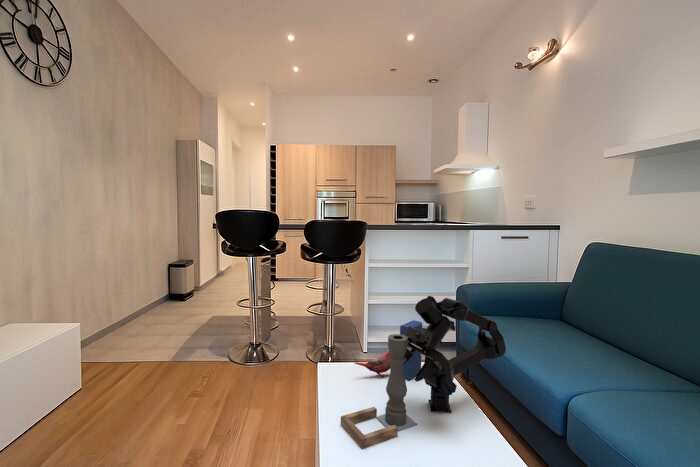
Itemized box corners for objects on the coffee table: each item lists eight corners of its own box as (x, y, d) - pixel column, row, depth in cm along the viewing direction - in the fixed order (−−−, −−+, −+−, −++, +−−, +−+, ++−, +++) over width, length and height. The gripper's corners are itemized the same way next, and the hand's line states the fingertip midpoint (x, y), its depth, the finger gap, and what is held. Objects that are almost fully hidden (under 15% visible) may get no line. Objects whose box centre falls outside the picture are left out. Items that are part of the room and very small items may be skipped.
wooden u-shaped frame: (373, 414, 109) (374, 406, 109) (397, 436, 99) (397, 427, 98) (340, 424, 103) (340, 416, 103) (361, 448, 93) (362, 439, 93)
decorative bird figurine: (400, 376, 135) (400, 350, 134) (354, 380, 131) (355, 354, 130) (397, 373, 138) (397, 348, 137) (352, 377, 134) (353, 351, 133)
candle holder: (405, 415, 108) (407, 334, 107) (406, 427, 102) (409, 341, 101) (385, 413, 109) (387, 333, 108) (385, 425, 103) (387, 340, 101)
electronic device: (410, 369, 142) (411, 319, 141) (421, 372, 139) (423, 322, 138) (397, 377, 135) (398, 324, 134) (409, 381, 131) (411, 327, 130)
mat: (399, 410, 112) (399, 409, 112) (417, 424, 104) (417, 423, 104) (375, 418, 107) (375, 417, 107) (392, 433, 100) (392, 432, 100)
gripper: (402, 309, 116) (373, 348, 112) (443, 325, 100) (411, 371, 95) (420, 329, 121) (393, 368, 116) (462, 348, 104) (432, 393, 100)
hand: (405, 374), depth 106 cm, fingers open, 9 cm apart
